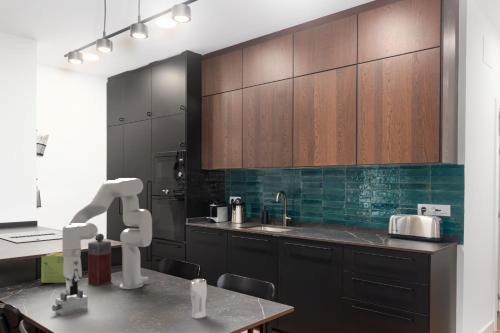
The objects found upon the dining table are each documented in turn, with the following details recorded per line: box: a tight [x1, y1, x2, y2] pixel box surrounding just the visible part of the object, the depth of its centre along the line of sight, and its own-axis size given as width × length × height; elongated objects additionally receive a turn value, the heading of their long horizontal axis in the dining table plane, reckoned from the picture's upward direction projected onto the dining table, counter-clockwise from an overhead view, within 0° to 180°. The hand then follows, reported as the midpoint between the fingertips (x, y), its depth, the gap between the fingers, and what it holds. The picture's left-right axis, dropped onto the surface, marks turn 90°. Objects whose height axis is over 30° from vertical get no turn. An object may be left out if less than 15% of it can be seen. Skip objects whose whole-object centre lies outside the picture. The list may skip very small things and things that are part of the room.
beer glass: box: [189, 278, 208, 320], centre depth 165 cm, size 7×7×15 cm
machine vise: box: [51, 288, 89, 317], centre depth 173 cm, size 13×8×8 cm, turn 135°
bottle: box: [65, 277, 76, 296], centre depth 174 cm, size 4×4×7 cm
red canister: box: [87, 233, 112, 286], centre depth 223 cm, size 9×11×28 cm
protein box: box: [40, 252, 75, 284], centre depth 229 cm, size 10×15×16 cm
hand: (71, 292), depth 174 cm, fingers closed on bottle, 4 cm apart
